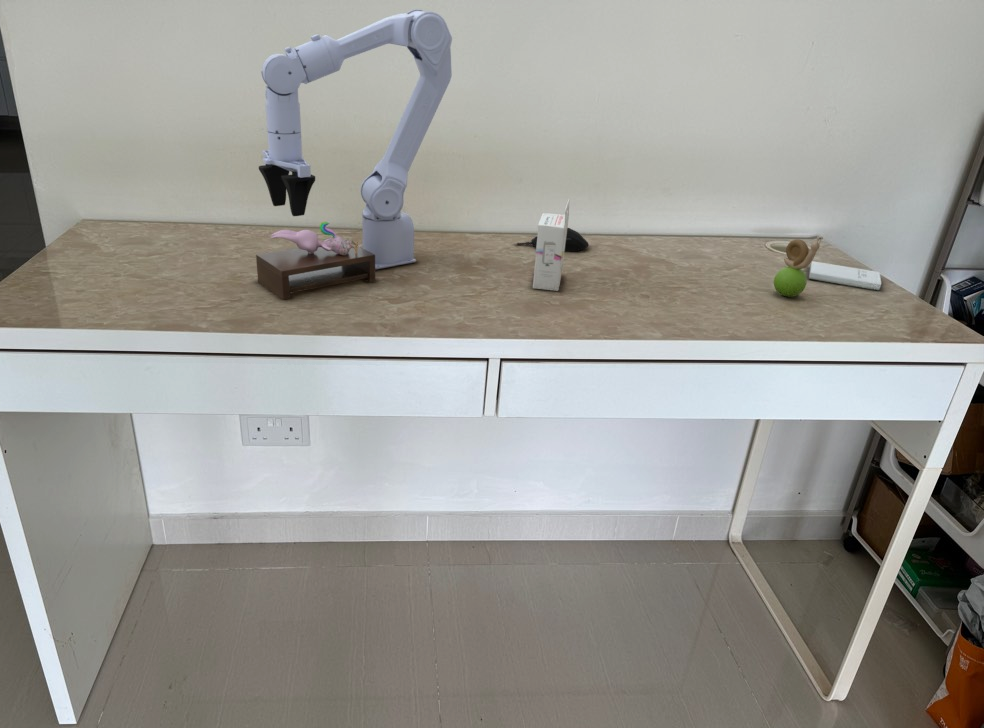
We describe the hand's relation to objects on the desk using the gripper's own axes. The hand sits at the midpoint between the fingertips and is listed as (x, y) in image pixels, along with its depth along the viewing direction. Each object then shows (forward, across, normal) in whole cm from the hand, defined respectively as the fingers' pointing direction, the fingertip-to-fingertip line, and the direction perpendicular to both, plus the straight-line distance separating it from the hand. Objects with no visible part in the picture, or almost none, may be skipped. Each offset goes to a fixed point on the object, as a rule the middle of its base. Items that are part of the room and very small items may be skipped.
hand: (288, 210), depth 139 cm
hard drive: (+11, +59, +89) cm, 107 cm away
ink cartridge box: (+11, +31, +36) cm, 49 cm away
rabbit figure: (+6, +9, 0) cm, 11 cm away
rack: (+10, +10, 0) cm, 14 cm away
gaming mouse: (+11, +15, +52) cm, 56 cm away
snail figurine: (+11, +59, +70) cm, 92 cm away
